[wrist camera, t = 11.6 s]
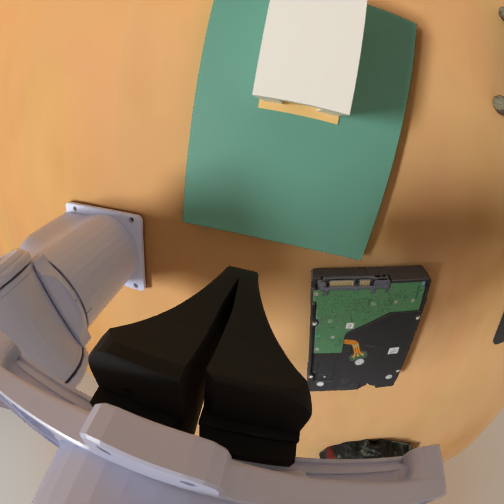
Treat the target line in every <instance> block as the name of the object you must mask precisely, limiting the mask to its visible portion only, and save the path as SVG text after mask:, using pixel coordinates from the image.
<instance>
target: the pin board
mask: <svg viewBox="0 0 504 504" xmlns="http://www.w3.org/2000/svg"><path fill="white" fill-rule="evenodd" d="M269 2H270V0H214V2H213V6H212V10H211V14H210V19H209V23H208V28H207V33H206V37H205V42H204V47H203V52H202V58H201V63H200V69H199V75H198V81H197V87H196V93H195V100H194V107H193V114H192V122H191V130H190V138H189V147H188V157H187V167H186V178H185V191H184V205H183V221H182V222H185V223H190V224H195V225H200V226H205V227H210V228H215V229H219V230H224V231H229V232H234V233H238V234H243V235H248V236H253V237H257V238H262V239H266V240H271V241H276V242H280V243H285V244H289V245H294V246H298V247H303V248H308V249H312V250H316V251H321V252H325V253H330V254H334V255H339V256H343V257H347V258H352V259H356V260H360V261H361V259H362V256H363V254H364V251H365V248H366V246H367V243H368V240H369V237H370V235H371V232H372V229H373V226H374V223H375V220H376V217H377V214H378V211H379V208H380V205H381V202H382V199H383V196H384V192H385V189H386V186H387V182H388V179H389V175H390V172H391V168H392V164H393V161H394V157H395V153H396V149H397V145H398V141H399V137H400V132H401V128H402V123H403V118H404V114H405V109H406V103H407V98H408V92H409V86H410V80H411V73H412V66H413V58H414V49H415V39H416V26H417V24H415V23H413V22H411V21H409V20H407V19H404V18H402V17H399V16H397V15H394V14H392V13H389V12H387V11H384V10H381V9H378V8H376V7H373V6H370V5H367V7H366V16H365V25H364V32H363V40H362V47H361V54H360V60H359V66H358V72H357V78H356V84H355V89H354V95H353V100H352V105H351V110H350V115H343V116H333V115H329V114H325V113H321V112H317V108H315V107H311V106H306V105H302V104H297V103H292V102H286V101H283V104H278V103H272V102H266V101H263V100H261V99H259V98H257V97H255V96H254V95H252V93H253V87H254V82H255V76H256V70H257V65H258V59H259V54H260V48H261V43H262V38H263V32H264V27H265V22H266V17H267V12H268V7H269Z"/></svg>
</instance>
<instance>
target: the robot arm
mask: <svg viewBox="0 0 504 504" xmlns="http://www.w3.org/2000/svg"><path fill="white" fill-rule="evenodd" d="M76 208H77V209H76ZM131 218H133V220H134V221H132V220H131ZM136 284H137V285H136ZM123 286H127V287H130V288H134V289H137V290H140V291H143V290H144V289H145V288H146V279H145V264H144V243H143V219H142V217H141V216H140V215H138V214H133V213H128V212H122V211H117V210H112V209H107V208H102V207H96V206H91V205H86V204H81V203H75V202H68V203H66V213H64V214H63V215H61V216H59V217H58V218H56V219H54V220H53V221H51V222H49V223H48V224H46V225H45V226H43V227H41V228H40V229H38V230H37V231H35V232H34V233H32V234H31V235H29V236H28V237H27V238H26V239H25V241H24V242H23V244H22V245H21V247H20V248H17V249H15V250H13V251H11V252H9V253H7V254H6V255H4V256H2V257H1V258H0V407H3V408H6V409H10V410H12V411H13V412H14V413H15V414H17V415H18V416H19V417H20V418H21V419H22V420H23V421H24V422H26V423H27V424H28V425H29V426H30V427H32V428H33V429H34V430H35V431H37V432H38V433H39V434H41V435H42V436H43V437H44V438H46V439H47V440H48V441H50V442H51V443H53V444H54V445H55V446H57V447H58V450H57V452H56V454H55V456H54V458H53V460H52V462H51V464H50V466H49V468H48V470H47V472H46V474H45V476H44V478H43V480H42V482H41V484H40V486H39V488H38V491H37V493H36V495H35V497H34V500H33V502H32V504H425V503H428V502H431V501H433V500H436V499H438V498H440V497H443V496H445V495H446V484H445V477H444V469H443V462H442V456H441V450H440V445H439V444H435V445H429V446H422V447H417V448H415V449H412V450H410V451H409V452H407V453H406V454H405V455H404V456H398V457H387V458H373V459H317V458H302V457H295V456H296V445H297V443H298V442H299V436H300V430H301V429H302V428H303V427H304V425H305V424H306V423H307V422H308V420H309V419H310V417H311V415H312V403H311V395H310V390H309V386H308V382H307V381H306V380H305V378H304V377H303V376H302V375H301V374H300V373H299V372H298V371H297V369H296V368H295V367H294V366H293V364H292V363H291V362H290V360H289V359H288V358H287V356H286V354H285V353H284V351H283V350H282V348H281V346H280V345H279V343H278V341H277V340H276V338H275V336H274V334H273V332H272V329H271V327H270V325H269V323H268V320H267V317H266V315H265V312H264V308H263V305H262V301H261V297H260V292H259V286H258V273H257V272H254V271H249V270H245V269H240V268H236V267H231V266H229V267H227V268H226V269H225V270H224V271H223V272H222V273H221V274H220V275H219V276H218V277H217V278H215V279H214V280H213V281H212V282H211V283H209V284H208V285H207V286H206V287H205V288H203V289H202V290H201V291H199V292H198V293H196V294H195V295H194V296H192V297H191V298H189V299H188V300H186V301H184V302H183V303H181V304H179V305H178V306H176V307H174V308H172V309H170V310H168V311H166V312H163V313H161V314H159V315H157V316H154V317H151V318H148V319H146V320H142V321H139V322H136V323H132V324H128V325H124V326H119V327H115V328H110V329H109V330H108V331H107V332H106V333H105V334H104V335H103V336H102V338H101V339H100V340H99V342H98V343H97V345H96V346H95V347H94V349H93V350H92V352H91V353H90V354H89V356H88V352H87V350H86V348H85V345H86V344H87V343H88V341H89V340H90V339H91V336H90V334H89V332H88V328H89V326H90V325H91V324H92V323H93V321H94V320H95V319H96V318H97V316H98V315H99V314H100V313H101V312H102V310H103V309H104V308H105V307H106V306H107V304H108V303H109V302H110V301H111V300H112V298H113V297H114V296H115V295H116V294H117V293H118V291H119V290H120V289H121V288H122V287H123ZM88 362H89V365H90V369H91V371H92V373H93V375H94V377H95V379H96V381H97V383H98V385H99V387H98V389H97V391H96V392H95V394H94V396H93V397H90V396H88V395H86V394H84V393H82V392H81V391H79V390H77V389H75V388H76V387H77V386H78V385H79V383H80V382H81V380H82V378H83V377H84V374H85V372H86V369H87V366H88ZM203 401H204V407H203V410H202V413H201V416H200V419H199V415H200V412H201V408H202V405H203ZM198 419H199V425H200V427H199V436H196V435H194V434H195V430H196V426H197V423H198Z"/></svg>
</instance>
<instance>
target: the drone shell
mask: <svg viewBox="0 0 504 504" xmlns="http://www.w3.org/2000/svg"><path fill="white" fill-rule="evenodd" d="M375 442H377V443H378V444H372V443H371V442H370V441H369V440H368V439H365V440H361V441H351V442H345V443H342V444H339V445H333V446H329V447H327V448H325V449H324V450H323V451H321V452H320V454H319V455H320V459H373V458H387V457H398V456H404V455H405V454H406V453H407V452H409V451H410V450H412V449H413V448H412V447H411V444H408V443H402V442H397V441H391V440H384V439H378V440H376V441H375Z"/></svg>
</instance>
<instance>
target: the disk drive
mask: <svg viewBox="0 0 504 504" xmlns="http://www.w3.org/2000/svg"><path fill="white" fill-rule="evenodd" d="M430 283H431V278H430V277H429V275H428V273H427V272H426V271H425V269H424V268H423V266H421V265H419V266H393V267H370V268H365V267H358V268H315V269H312V282H311V317H310V342H309V360H308V368H307V382H308V386H309V390H310V391H326V390H327V391H330V390H354V389H358V388H360V387H362V386H364V385H366V383H368V384H369V385H374V386H375V387H376V388H378V387H385V386H393V385H394V382H395V380H396V379H397V377H398V375H399V372H400V369H401V367H402V365H403V362H404V360H405V357H406V355H407V353H408V350H409V348H410V345H411V342H412V340H413V336H414V334H415V331H416V329H417V326H418V323H419V321H420V317H421V313H422V311H423V308H424V305H425V302H426V299H427V293H428V290H429V287H430Z"/></svg>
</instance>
